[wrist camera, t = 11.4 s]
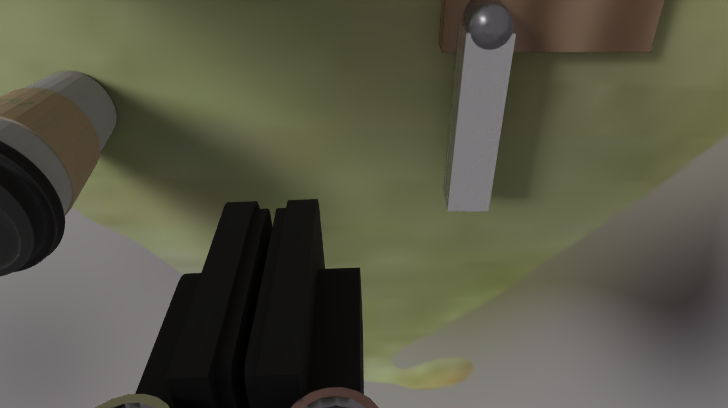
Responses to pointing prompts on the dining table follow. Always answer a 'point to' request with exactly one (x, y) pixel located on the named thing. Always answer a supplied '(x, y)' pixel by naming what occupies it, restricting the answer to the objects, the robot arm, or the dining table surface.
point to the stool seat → (567, 25)
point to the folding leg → (478, 104)
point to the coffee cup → (47, 160)
